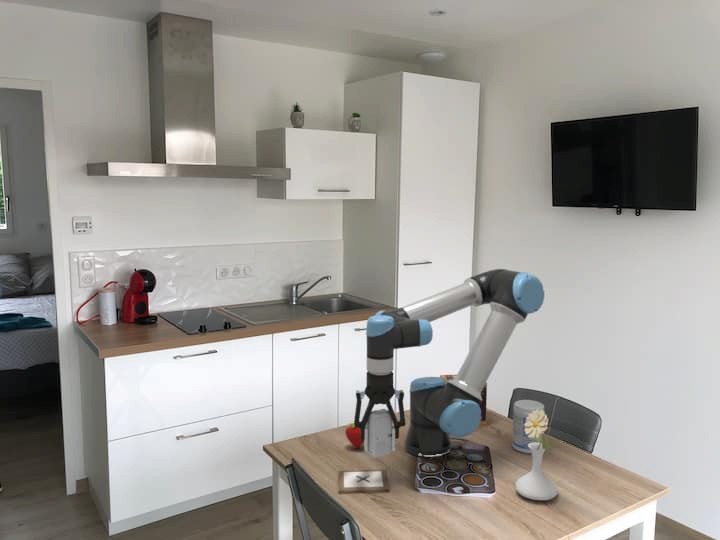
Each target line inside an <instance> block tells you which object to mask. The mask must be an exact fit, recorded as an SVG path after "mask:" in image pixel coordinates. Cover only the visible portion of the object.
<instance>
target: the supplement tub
mask: <svg viewBox="0 0 720 540" xmlns="http://www.w3.org/2000/svg"><path fill="white" fill-rule="evenodd" d="M536 410H538V411H541V410H542V411H543V412H544V413H545V405H544V404H543V403H541V402H540V401H536V400H534V399H533V400H531V399H520V400H516V401H515V402H514V403H513V417H512V418H513V419H512V443H511V445H512V447H513V449H514V450H516V451H517V452H520V453H524V454H532V453H531V450H530V448H529V447H528V444H529V443H534V442H537V441H536V440H535V439H534V438H529V437H528V435H529V434H527V435H526V432H525V427H526V426H525V425H524V424H525V423H526V418H527V417H529V416H528V415H529V414H532V412H533V411H536ZM539 438H540V440H541V441H542V435H541V437H539ZM537 443H539V442H537Z"/></svg>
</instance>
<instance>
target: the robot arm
mask: <svg viewBox="0 0 720 540" xmlns="http://www.w3.org/2000/svg"><path fill="white" fill-rule="evenodd" d="M544 301H545V290H544V285H543V283H542V281H541V280H540V279H539V278H538V277H537V276H536V275H534V274H531V273H528V272H523V271H521V272H520V271H515V270H509V269H504V268H497V269H491V270H488V271H485V272H481V273H479V274H477V275H476V274H475V275H473V276H470V277H469V278H466V279H464V281H463V283H461V284H459V285H455V286H454V287H451V288H448V289H446V290H443V291H441V292H438V293H435V294H433V295H431V296H428V297H425V298H423V299H420V300H418V301H415V302H412V303H410V304H409V303H408V304H407V305H405V306H401V307H399V308H396V309H394V310H391V311H390V310H387V309H386V310H385V309H383V310H379V311H377V313H375V314H374V315H372V316H370V317H369V318H368V319H367V322H366V331H365V334H366V335H365V336H366V370H367V371H366V386H365V388H364V389H363V390H357V389H356V391H355V397H356V403H355V404H356V405H355V412H354V421H353V423H354V426H355V427H359V428H360V436H361V439H364V443H363V444H364V445H363V448H364V452H365V453H367V444H368V429H367V421H368V419H369V416H370V414H371V411H373V408H374V406H375V405H386V408H387V410H388V411H389V413H390V416H391V418H392V424H393V425H392V452H396V440H398V439H399V438H400V428H402V427H405V426H406V418H405V409H404V397H405V393H404V390H403V389H400V390H398V389H395V388H394V351H395V350H399V349H407V348H415V347H416V348H417V347H419V348H420V347H422V346H427V345H429V344H430V343H431V342H432V341H433V332H434V331H433V330H434V329H433V327H432V324H431V323H432V322H434V321H436V320H438V319H439V320H440V319H441V318H444V317H447V316H449V315H451V314H454V313H457V312H458V311H461V310H464V309H466V308H469V307H472V306H473V307H479V306H484V305H489V306H490V313H489V315H488V317H487V318H486V320H485V323H483V326H482V328H481V329H480V332H479V333H478V335H477V337H476V338H475V340H474V343H473V345H472V346H471V348H470V350H469V352H468V354H467V356H466V357H465V359H464V361H463V363H462V365H461V367H460V368H459V371H458V372H457V374H456V375H457V376H456V378H455V379H453V380H450V381H448V382H447V381H446V379H444V378H441V377H440V376H423V377H418V378H415V379H413V380H412V381H411V382H410V386H409V426H408V430H407V432H406V435H405V438H404V449H405V451H407V453H409V454H411V455H413V456H415V457H419V456H418V454H419V453H421V454H423V455H436V454H442V453H445V452H447V451H448V450H449V449H450V448H451V446H452V439H451V436H453V437H454V438H455V437H456V438H463V437H464V438H465V437H466V436H469V435H471V434H473V433H474V432H475V430H476V429H477V428H478V427H479V426H480V425H479V424H480V421H481V417H482V416H481V409H480V407H479V406H480V404H481V402H482V398H481V391H482V389H483V387H484V385H485V383H487V381H488V380H489V377H490V375H491V374H492V372H493V371H494V369H495V366H496V364H497V362H498V360H499V359H500V357H501V355H502V353H503V351H504V349H505V347H506V346H507V344H508V342H509V341H510V338H511V336H512V334H513V332H514V330H515V328H516V326H517V324H521V323H524V322H525V321H526V319H527V317H528V314H534V313H536V312H538V311H539V310H540V309H541V307H542V305H543V304H544ZM394 395H395V397H396V399H397V404H398V412H399V420H398V418H397V416H396V414H395V411H394V407H393V406H392V404H391V399H392V398H393V396H394ZM365 396H366V397H367V398H368V399H369V401H368V403H367V406H366V409H365V410H364V413H363V417H362V419H361V421H360V417H361V411H362V410H361V409H362V400H363V399H364V397H365Z"/></svg>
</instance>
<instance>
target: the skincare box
mask: <svg viewBox="0 0 720 540" xmlns="http://www.w3.org/2000/svg"><path fill="white" fill-rule="evenodd" d="M366 426H367V429H368V444H367V452H366V453H367V454H368V455H370V456H371V457H373V458H375V459H376V458H379V457H380V458H381V457H384V456H387V455H390V454H393V453H392V452H393V451H392V426H393V421H392V418H391V416H390V413H389V411H388V409H385V408H382V409H381V408H379V409H375V410H372V411H371V414H370V416H369V419H368V421H367V424H366Z"/></svg>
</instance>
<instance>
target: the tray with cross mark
mask: <svg viewBox="0 0 720 540" xmlns="http://www.w3.org/2000/svg"><path fill="white" fill-rule="evenodd" d="M368 493H369V494H370V493H371V494H372V493H376V494H377V493H390V486H389V480H388V474H387V470H386V469H354V470H353V469H351V470H338V494H368Z"/></svg>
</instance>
